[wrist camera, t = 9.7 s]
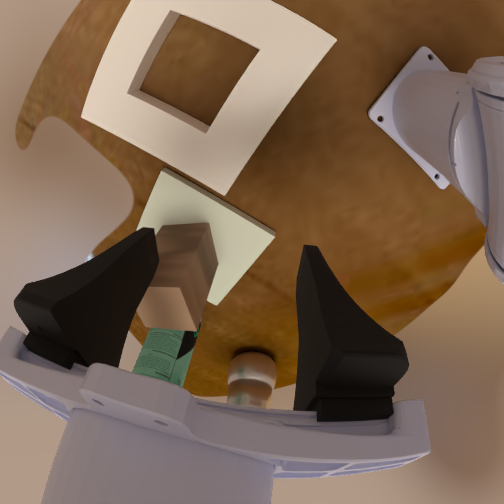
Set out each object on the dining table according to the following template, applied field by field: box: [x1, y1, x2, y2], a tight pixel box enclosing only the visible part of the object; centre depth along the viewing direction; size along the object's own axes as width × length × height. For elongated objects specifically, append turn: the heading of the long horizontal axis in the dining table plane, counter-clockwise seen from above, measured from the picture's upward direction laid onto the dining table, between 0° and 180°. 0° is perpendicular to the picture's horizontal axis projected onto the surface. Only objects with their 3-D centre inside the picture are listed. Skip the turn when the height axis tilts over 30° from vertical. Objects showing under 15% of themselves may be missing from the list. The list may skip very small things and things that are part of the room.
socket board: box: [81, 0, 337, 196], centre depth 16 cm, size 14×14×2 cm
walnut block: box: [136, 223, 218, 331], centre depth 22 cm, size 4×4×8 cm
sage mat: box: [136, 167, 276, 306], centre depth 26 cm, size 11×11×1 cm
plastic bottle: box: [227, 352, 277, 409], centre depth 29 cm, size 6×7×20 cm
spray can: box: [132, 317, 202, 387], centre depth 25 cm, size 6×6×20 cm
